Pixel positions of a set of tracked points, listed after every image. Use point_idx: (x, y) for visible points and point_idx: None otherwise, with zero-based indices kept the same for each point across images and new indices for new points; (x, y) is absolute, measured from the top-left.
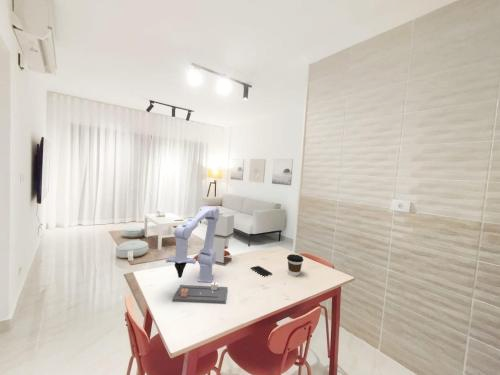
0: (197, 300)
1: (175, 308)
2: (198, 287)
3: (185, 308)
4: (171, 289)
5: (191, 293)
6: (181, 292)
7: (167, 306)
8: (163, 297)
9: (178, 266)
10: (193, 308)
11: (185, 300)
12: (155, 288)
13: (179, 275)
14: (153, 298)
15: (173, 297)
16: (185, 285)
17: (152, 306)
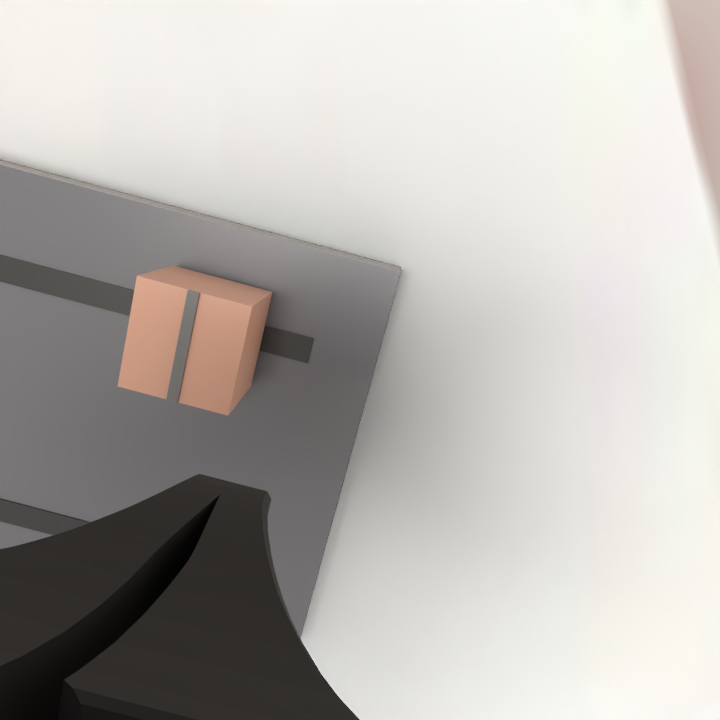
0: (6, 164)
1: (348, 54)
2: (8, 539)
3: (196, 26)
4: (423, 609)
5: (106, 375)
6: (245, 299)
7: (469, 136)
8: (534, 407)
9: (123, 680)
10: (75, 3)
11: (198, 215)
12: (652, 676)
13: (220, 496)
14: (679, 406)
15: (386, 301)
16: None
17: (693, 178)
